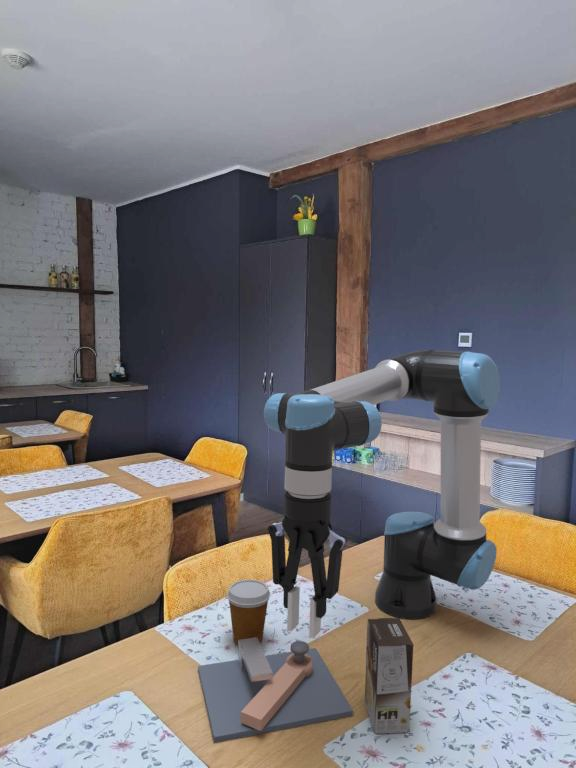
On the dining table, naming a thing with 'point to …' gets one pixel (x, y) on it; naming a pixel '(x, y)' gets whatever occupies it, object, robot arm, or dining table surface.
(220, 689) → the mount board
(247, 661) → the block
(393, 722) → the coffee box
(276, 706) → the link
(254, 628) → the disposable coffee cup
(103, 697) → the dining table surface
